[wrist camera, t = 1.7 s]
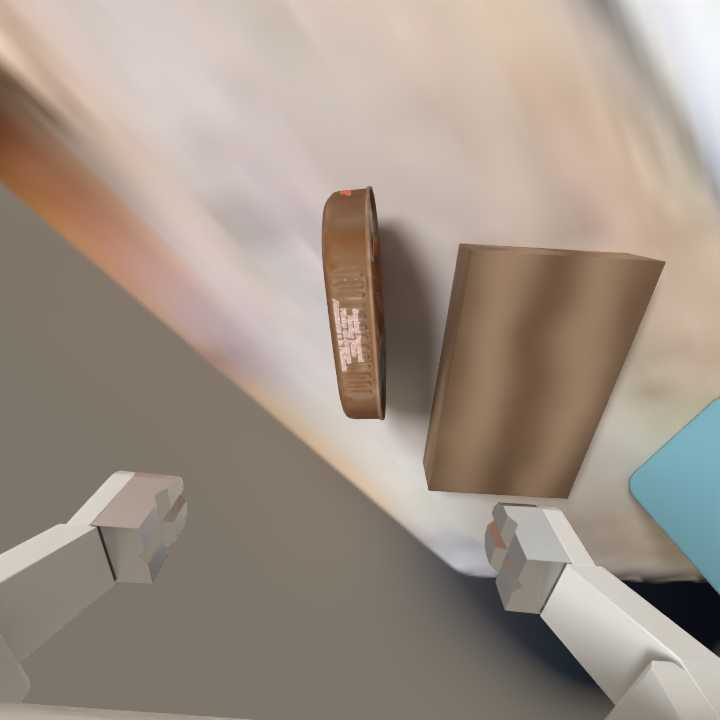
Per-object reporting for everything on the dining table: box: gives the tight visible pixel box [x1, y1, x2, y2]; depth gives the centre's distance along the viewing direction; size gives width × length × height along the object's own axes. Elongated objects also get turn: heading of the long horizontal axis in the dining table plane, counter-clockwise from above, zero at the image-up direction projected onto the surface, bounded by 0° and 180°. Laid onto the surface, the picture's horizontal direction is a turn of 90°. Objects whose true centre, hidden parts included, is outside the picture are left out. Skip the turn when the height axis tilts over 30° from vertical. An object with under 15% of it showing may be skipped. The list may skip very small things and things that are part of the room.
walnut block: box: [423, 244, 665, 499], centre depth 28 cm, size 12×20×4 cm, turn 177°
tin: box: [322, 186, 386, 420], centre depth 23 cm, size 15×3×8 cm, turn 5°
